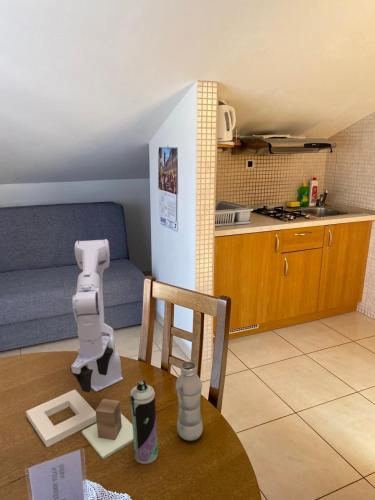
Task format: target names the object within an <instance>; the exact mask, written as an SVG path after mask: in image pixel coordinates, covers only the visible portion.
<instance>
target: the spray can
mask: <svg viewBox="0 0 375 500" xmlns="http://www.w3.org/2000/svg"><path fill="white" fill-rule="evenodd" d="M155 395H156V392H155V389H154V387H152V386H151V385H149V384H146V381H145V380H141V381H138V382H137V385H136V386H134V387H133V388H132V389H131V391H130V396H129V399H130V410H131V411H130V413H131V424H132V426H133V440H134V442H133V451H134V459H135V460H136V462H137V463H140V464H142V465H148V464H152V463H153V462H154V461H156V459H158V458H157V457H158V454H159V453H158V452H159V451H158V433H157V416H156V415H157V414H156V413H157V412H156V411H157V410H156V396H155Z"/></svg>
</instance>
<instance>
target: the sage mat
mask: <svg viewBox="0 0 375 500" xmlns="http://www.w3.org/2000/svg"><path fill="white" fill-rule="evenodd" d="M121 423H122V428H121V430H120V432H119V434H118V436H117V438H116V440H111V439H104V438H98V430H97V422H95V424H94V423H93V424H91V425H89V426H87V427H86V428H84V429H82V430H81V435H82V436H83V437H84V438H85V439H86V440H87V442H88V443H89V445H91V447H92V448H93V449H94V450H95V452H96V453H97V455H98V456H99V457H100V458H101V459H102V460H105V459H106V458H108V457H110V456H112V455H113V454H115V453H116V452H118V451H120V450H122V449H123V448H125V447H126V446H128V445H130V444H131V443H134V440H133V426H132V422H130V421H129V420H128V418H126V417H125V415H123V413H121Z"/></svg>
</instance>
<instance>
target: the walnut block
mask: <svg viewBox="0 0 375 500" xmlns="http://www.w3.org/2000/svg"><path fill="white" fill-rule="evenodd" d="M95 412H96V420H97V421H96V423H97V430H98V438H104V439H111V440H116V438H117V436H118V434H119V432H120V430H121V428H122V423H121V414H122V412H121V401H120V400H116V399H115V400H113V399H108V398H107V399H106V398H102V400H101V401H100V402H99V405H98V406H97V407H96V409H95Z"/></svg>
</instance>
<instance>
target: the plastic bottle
mask: <svg viewBox="0 0 375 500" xmlns="http://www.w3.org/2000/svg"><path fill="white" fill-rule="evenodd" d="M197 371H198V370H197V365H196V363H195V362H193V361H183V362H182V363H181V365H180V374H179V376H178V377H177V378H176V382H175V389H176V393H177V394H176V395H177V402H178V403H177V404H178V416H177V421H176V430H177V433H178V435H179V436H180V438H182V439H183V440H185V441H189V442H192V441H195V440H198V439H199V438H200V437H201V436H202V433H203V428H204V424H203V420H202V415H201V396H202V389H203V382H202V380H201V378H200V376H199V375H198V374H197V373H198V372H197Z"/></svg>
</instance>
